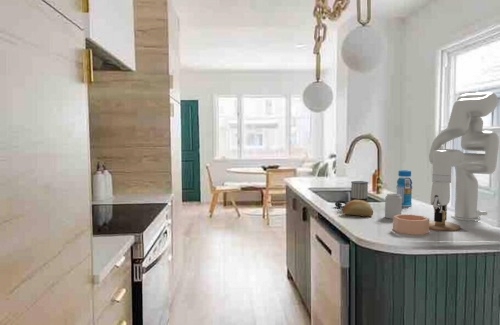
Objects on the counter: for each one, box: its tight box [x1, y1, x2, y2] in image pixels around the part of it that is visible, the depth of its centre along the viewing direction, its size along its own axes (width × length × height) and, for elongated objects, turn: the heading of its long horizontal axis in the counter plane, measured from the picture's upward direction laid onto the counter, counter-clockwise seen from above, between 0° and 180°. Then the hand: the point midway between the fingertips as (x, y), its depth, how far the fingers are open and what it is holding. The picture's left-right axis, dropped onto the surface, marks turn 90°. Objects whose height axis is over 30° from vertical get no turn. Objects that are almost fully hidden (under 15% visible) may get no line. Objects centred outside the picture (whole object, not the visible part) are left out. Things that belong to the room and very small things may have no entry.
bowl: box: [392, 213, 430, 235], centre depth 174 cm, size 13×13×6 cm
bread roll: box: [341, 199, 374, 218], centre depth 209 cm, size 10×15×8 cm, turn 76°
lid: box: [429, 210, 462, 231], centre depth 181 cm, size 16×16×7 cm
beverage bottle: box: [396, 169, 413, 208], centre depth 238 cm, size 8×8×20 cm
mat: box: [429, 227, 469, 233], centre depth 182 cm, size 16×17×1 cm
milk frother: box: [334, 180, 369, 209], centre depth 229 cm, size 14×16×15 cm
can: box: [384, 192, 403, 220], centre depth 201 cm, size 8×8×12 cm
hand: (440, 220), depth 181 cm, fingers closed on lid, 4 cm apart
